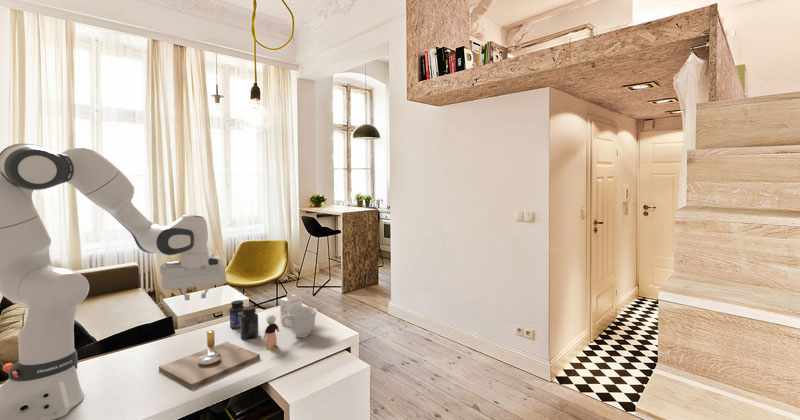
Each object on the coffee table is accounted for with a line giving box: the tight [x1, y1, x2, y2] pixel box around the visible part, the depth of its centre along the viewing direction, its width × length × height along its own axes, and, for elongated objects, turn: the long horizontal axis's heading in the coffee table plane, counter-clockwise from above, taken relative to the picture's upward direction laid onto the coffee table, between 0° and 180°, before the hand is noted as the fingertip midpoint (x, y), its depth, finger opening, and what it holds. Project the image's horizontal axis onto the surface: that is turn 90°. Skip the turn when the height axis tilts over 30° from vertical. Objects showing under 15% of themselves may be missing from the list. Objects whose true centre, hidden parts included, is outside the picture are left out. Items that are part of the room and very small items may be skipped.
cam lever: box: [198, 329, 221, 366], centre depth 130 cm, size 14×7×6 cm, turn 27°
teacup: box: [282, 306, 318, 338], centre depth 153 cm, size 12×15×10 cm
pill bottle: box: [229, 299, 245, 330], centre depth 162 cm, size 6×6×11 cm
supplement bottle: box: [239, 305, 259, 341], centre depth 151 cm, size 7×7×12 cm
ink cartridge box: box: [279, 289, 303, 325], centre depth 167 cm, size 9×5×15 cm, turn 147°
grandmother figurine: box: [263, 314, 280, 351], centre depth 141 cm, size 8×4×13 cm, turn 168°
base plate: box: [158, 341, 261, 390], centre depth 128 cm, size 24×20×2 cm
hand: (195, 298), depth 132 cm, fingers open, 4 cm apart
